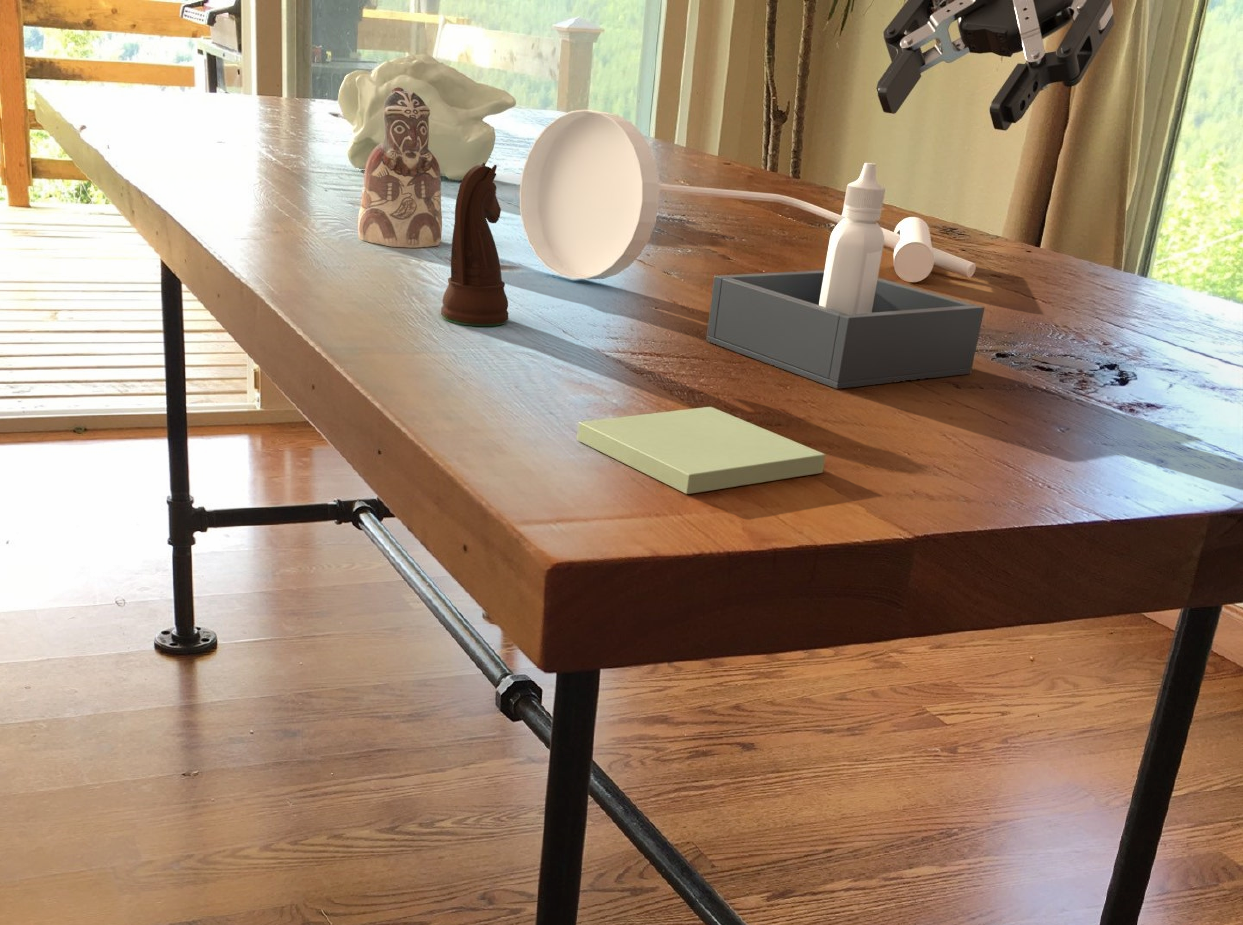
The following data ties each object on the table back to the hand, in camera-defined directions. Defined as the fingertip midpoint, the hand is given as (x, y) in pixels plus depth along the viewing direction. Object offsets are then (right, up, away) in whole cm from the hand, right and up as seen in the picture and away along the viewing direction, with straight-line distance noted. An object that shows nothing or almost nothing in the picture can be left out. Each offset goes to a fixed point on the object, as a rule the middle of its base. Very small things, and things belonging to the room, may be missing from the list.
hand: (939, 112), depth 94 cm
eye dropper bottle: (-6, -15, +2) cm, 17 cm away
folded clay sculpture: (-40, +20, +68) cm, 82 cm away
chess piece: (-31, -13, +3) cm, 34 cm away
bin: (-6, -16, +2) cm, 17 cm away
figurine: (-39, 0, +29) cm, 48 cm away
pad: (-18, -26, -21) cm, 38 cm away
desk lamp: (-6, -2, +31) cm, 32 cm away
